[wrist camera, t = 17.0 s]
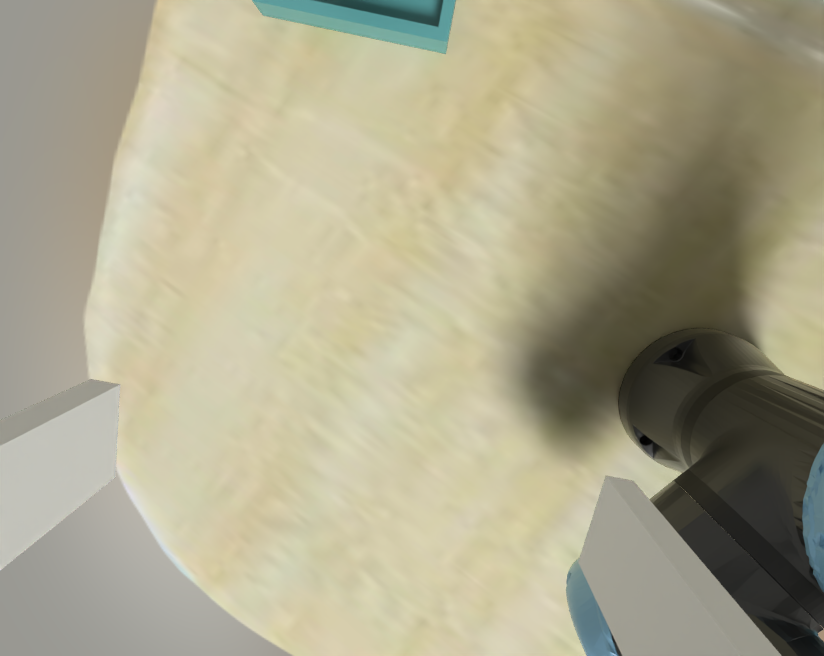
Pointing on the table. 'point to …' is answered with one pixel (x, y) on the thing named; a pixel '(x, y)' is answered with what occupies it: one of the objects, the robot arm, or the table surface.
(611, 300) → the table surface
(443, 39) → the tray
